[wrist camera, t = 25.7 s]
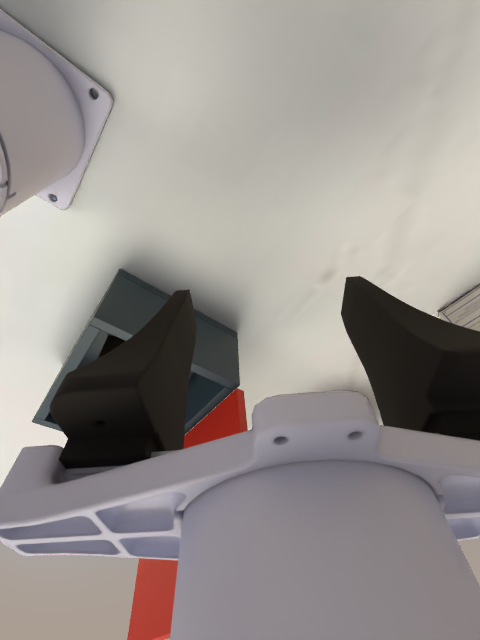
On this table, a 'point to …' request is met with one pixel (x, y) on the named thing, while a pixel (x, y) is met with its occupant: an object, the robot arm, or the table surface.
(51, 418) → the dark grey open box
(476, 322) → the medicine box
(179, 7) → the table surface
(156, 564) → the lid
